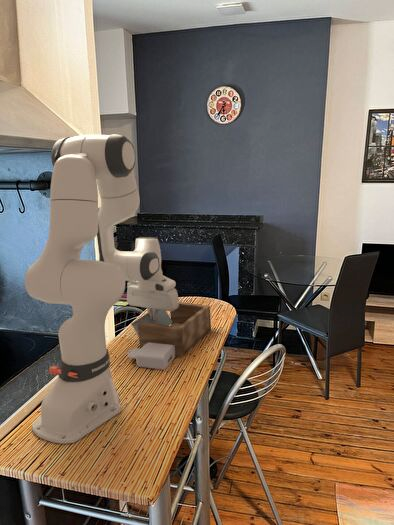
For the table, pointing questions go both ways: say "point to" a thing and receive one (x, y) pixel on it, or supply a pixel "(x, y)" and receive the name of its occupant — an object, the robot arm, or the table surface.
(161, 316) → the tailgate
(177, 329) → the crate
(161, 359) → the charger
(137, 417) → the table surface
